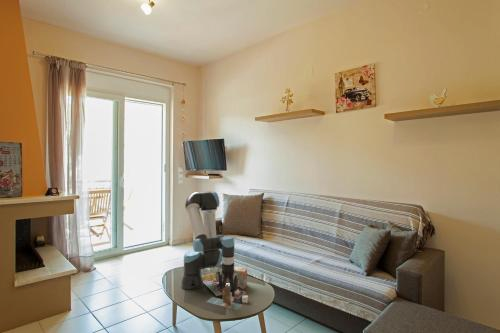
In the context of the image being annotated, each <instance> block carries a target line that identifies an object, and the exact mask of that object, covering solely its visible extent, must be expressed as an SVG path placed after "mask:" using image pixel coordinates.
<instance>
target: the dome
mask: <svg viewBox="0 0 500 333" xmlns="http://www.w3.org/2000/svg"><path fill="white" fill-rule="evenodd" d="M239 290H240V289H238V290H237V291H235V296H234V297H239V296H240V295H241V292H240V291H241V290H240V291H239Z"/></svg>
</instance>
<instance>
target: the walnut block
mask: <svg viewBox="0 0 500 333" xmlns="http://www.w3.org/2000/svg"><path fill="white" fill-rule="evenodd" d="M230 292H231V286H228V285H226V286H225V287H224V288H223V294H222V299H223V303H225V304H231V303H232V302H230Z"/></svg>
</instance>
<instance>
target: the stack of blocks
mask: <svg viewBox="0 0 500 333" xmlns="http://www.w3.org/2000/svg"><path fill="white" fill-rule="evenodd" d="M220 270H221V271H222V268H218V269H217V270H216V271H215V283H216V282H219V275H218V272H219V271H220ZM234 272H235V274H238V275H239V276H238V287H240V288H239V289H241V288H242V290H244V289H245V288H246V287H247V285H248V268H245V267H240V266H234ZM223 276H224V275H223V274H222V282H223ZM233 281H234V275H233ZM226 283H230V281H229V279H228V278H227V280H226Z"/></svg>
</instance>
